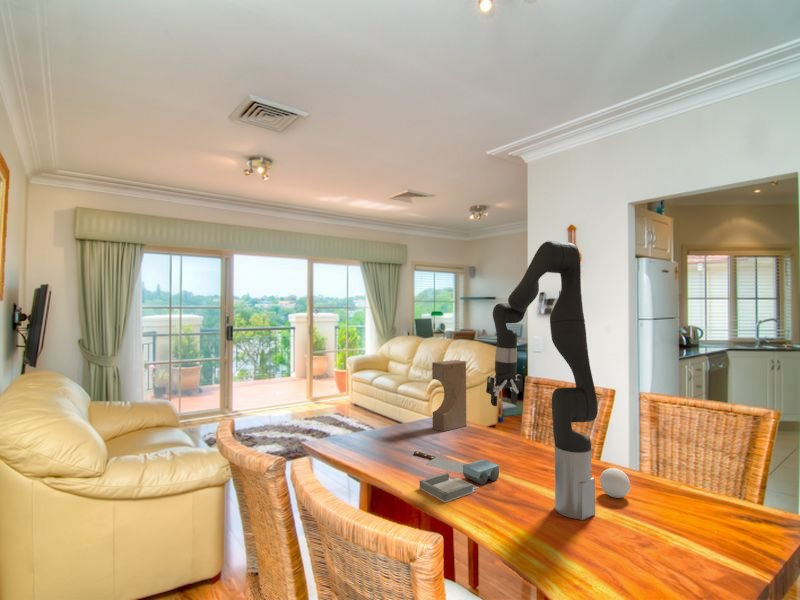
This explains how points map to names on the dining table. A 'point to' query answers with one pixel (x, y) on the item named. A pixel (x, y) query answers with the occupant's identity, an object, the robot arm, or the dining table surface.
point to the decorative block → (450, 395)
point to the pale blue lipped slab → (481, 471)
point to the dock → (446, 487)
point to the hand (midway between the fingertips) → (504, 404)
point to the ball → (615, 483)
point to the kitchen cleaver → (442, 462)
